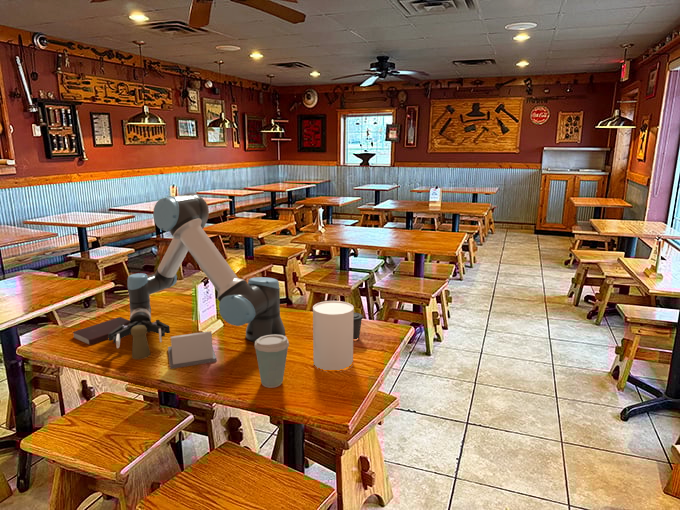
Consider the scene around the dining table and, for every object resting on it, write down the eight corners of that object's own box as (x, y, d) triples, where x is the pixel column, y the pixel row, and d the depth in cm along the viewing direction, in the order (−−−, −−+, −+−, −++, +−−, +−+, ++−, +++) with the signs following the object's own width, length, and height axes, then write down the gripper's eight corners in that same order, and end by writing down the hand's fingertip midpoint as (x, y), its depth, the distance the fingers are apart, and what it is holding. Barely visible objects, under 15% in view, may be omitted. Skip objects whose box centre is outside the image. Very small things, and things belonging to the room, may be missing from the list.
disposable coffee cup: (248, 385, 143) (246, 339, 139) (271, 371, 152) (270, 328, 148) (274, 395, 137) (272, 348, 134) (296, 380, 146) (296, 336, 142)
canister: (331, 376, 149) (331, 317, 144) (305, 362, 159) (304, 306, 154) (361, 363, 158) (362, 307, 153) (334, 350, 167) (334, 298, 163)
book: (137, 330, 187) (136, 322, 186) (89, 346, 171) (88, 338, 170) (120, 323, 193) (119, 316, 193) (72, 339, 178) (71, 331, 177)
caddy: (168, 349, 167) (165, 322, 165) (210, 343, 173) (209, 317, 171) (170, 368, 153) (167, 339, 151) (216, 361, 159) (214, 332, 156)
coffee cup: (339, 341, 175) (339, 316, 173) (344, 333, 183) (344, 309, 181) (360, 343, 173) (360, 318, 171) (364, 335, 181) (364, 311, 179)
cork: (145, 350, 167) (142, 321, 164) (153, 355, 163) (151, 325, 161) (128, 356, 162) (125, 326, 160) (137, 360, 159) (134, 330, 156)
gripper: (175, 325, 183) (178, 346, 164) (105, 334, 174) (100, 357, 155) (173, 307, 181) (176, 326, 162) (103, 315, 172) (97, 336, 153)
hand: (139, 341), depth 159 cm, fingers open, 13 cm apart
